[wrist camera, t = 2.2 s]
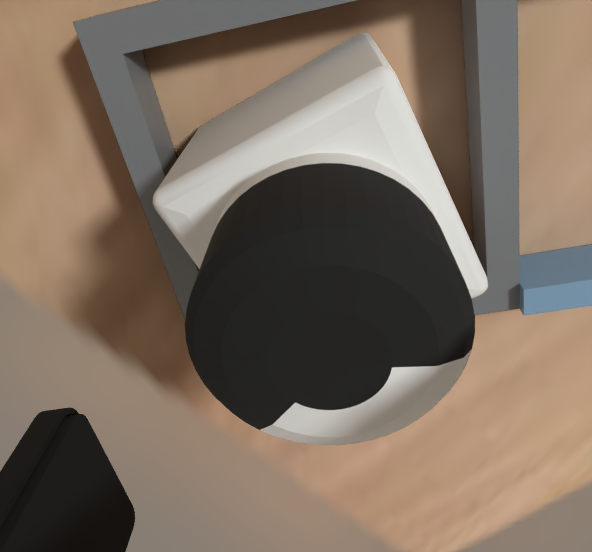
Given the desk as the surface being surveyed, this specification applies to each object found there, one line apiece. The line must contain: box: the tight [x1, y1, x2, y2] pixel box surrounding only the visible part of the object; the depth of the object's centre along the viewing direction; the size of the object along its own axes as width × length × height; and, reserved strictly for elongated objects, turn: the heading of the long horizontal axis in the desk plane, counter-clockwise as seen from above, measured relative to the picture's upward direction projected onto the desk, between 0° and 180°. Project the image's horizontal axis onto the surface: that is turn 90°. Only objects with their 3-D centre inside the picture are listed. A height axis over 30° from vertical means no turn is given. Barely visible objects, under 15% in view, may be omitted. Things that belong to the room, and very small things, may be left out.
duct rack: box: [73, 0, 592, 320], centre depth 19 cm, size 13×26×2 cm, turn 102°
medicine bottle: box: [153, 33, 488, 445], centre depth 16 cm, size 7×7×12 cm
